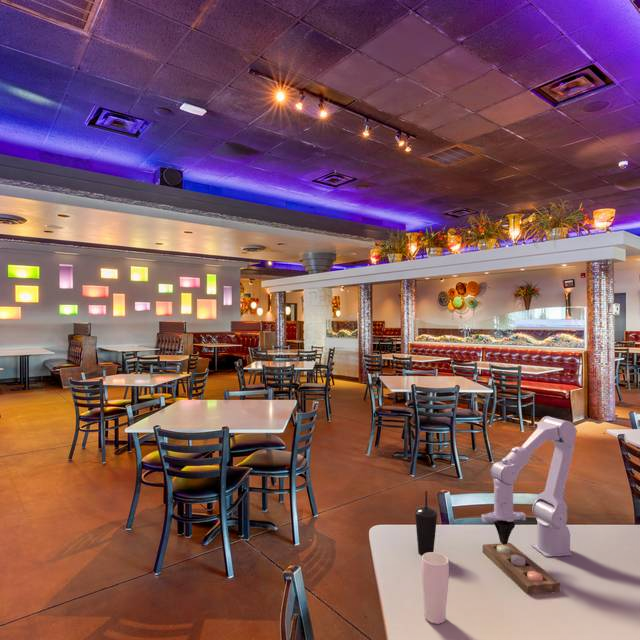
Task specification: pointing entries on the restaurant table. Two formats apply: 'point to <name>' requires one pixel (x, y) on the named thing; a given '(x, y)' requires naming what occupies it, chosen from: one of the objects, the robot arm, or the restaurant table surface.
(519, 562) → the grey button
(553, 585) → the panel
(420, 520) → the drinking cup
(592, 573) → the restaurant table surface
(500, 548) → the sage button
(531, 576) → the terracotta button
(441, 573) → the drinking glass
